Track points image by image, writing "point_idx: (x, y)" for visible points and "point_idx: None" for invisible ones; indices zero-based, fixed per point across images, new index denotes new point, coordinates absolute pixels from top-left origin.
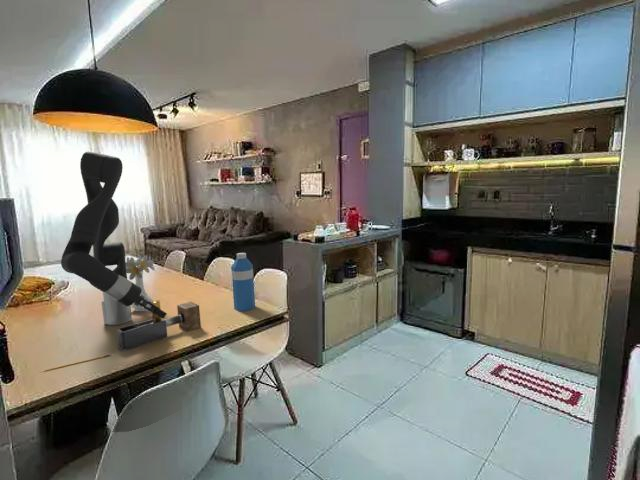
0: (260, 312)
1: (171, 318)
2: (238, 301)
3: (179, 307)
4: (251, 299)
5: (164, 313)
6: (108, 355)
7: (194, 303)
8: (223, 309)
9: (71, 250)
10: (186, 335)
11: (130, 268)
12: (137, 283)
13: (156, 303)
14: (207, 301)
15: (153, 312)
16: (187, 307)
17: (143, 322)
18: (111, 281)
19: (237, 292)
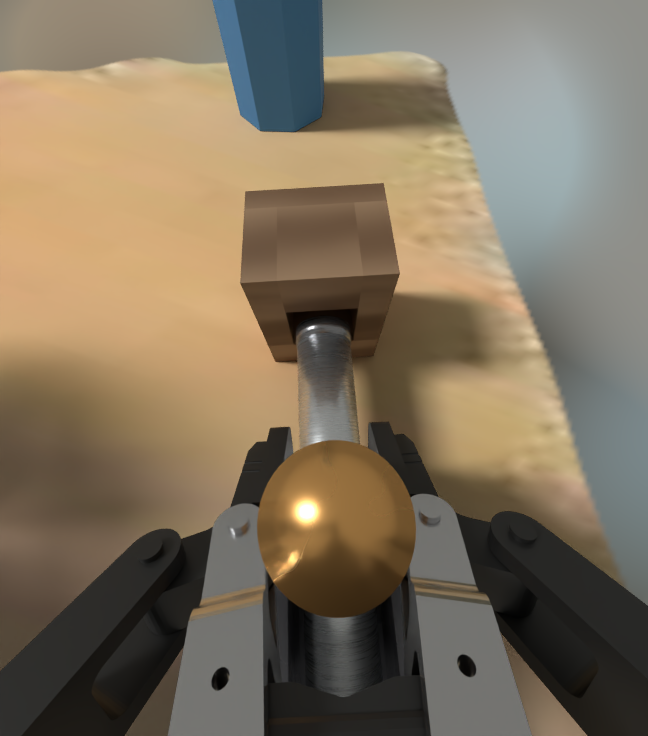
0: (380, 94)
1: (340, 390)
2: (295, 75)
3: (289, 286)
4: (322, 40)
5: (413, 444)
6: None
7: (314, 189)
8: (225, 156)
9: None
10: (419, 375)
11: None
12: None
13: (412, 522)
14: (59, 159)
15: (564, 627)
16: (371, 249)
17: (287, 628)
18: None
19: (287, 8)
